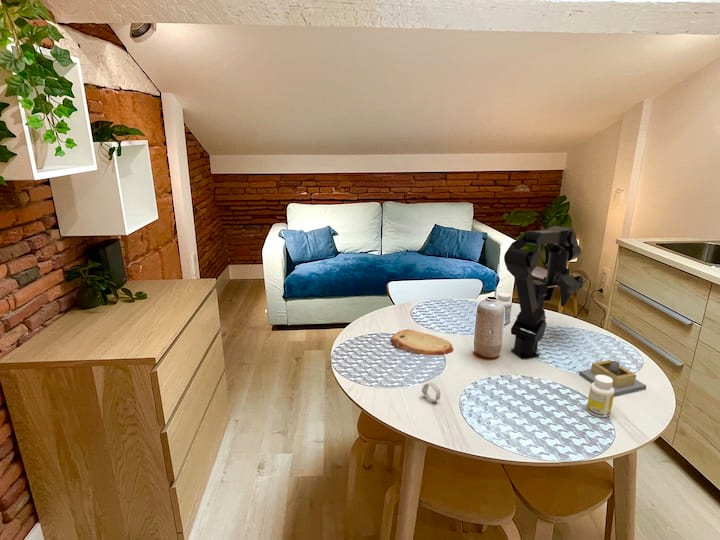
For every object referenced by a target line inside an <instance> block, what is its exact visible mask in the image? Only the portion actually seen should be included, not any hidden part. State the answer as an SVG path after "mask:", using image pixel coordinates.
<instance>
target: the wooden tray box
mask: <svg viewBox="0 0 720 540" xmlns="http://www.w3.org/2000/svg"><path fill="white" fill-rule="evenodd" d="M611 361H612V360H611V359H606V360H604V361H603V360H602V361H601V360H600V361H597V362H592V363H591V368H590V369H591V373H593V374H594V375H606V376H609V377H610V378H612V379H613V384H612V386H613V387H615V388H620V387H625V386H629V385H634V384H635V379H636V380H637V374H636V373H634V372H632V371H630V370H628V369H626V368H625V367H623V366H621V365H620V364H619V369H618V374H617V375H615V374H614V373H612V372H610V371H609V368H610V363H611Z"/></svg>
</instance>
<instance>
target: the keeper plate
mask: <svg viewBox="0 0 720 540" xmlns="http://www.w3.org/2000/svg"><path fill="white" fill-rule="evenodd" d="M619 365H620V363H619V362H618V361H615V360H611V363H610V368H609V371H610V372H612V373H614V374H615V375H617V374H618V369H619ZM578 375H579V376H580V377H582V378H583V379H584V380H586V381H587V382H589V383H590V384H592V383H593V382H594V381H595V376H596V375H594V374H593V373H591V368H588V369H584V370H579V372H578ZM612 387H613V386H612ZM613 389H614V397H617V396H622V395H627V394H631V393H635V391H636V392H639V390H640V391H643V390H644V389H645V390H646V389H647V385H646V384H645V383H643V382H641V381H639V379H637V378H636V379H635V384H634V385H629V386H625V387H620V388H615V387H613ZM645 390H644V391H645Z"/></svg>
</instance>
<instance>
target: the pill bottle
mask: <svg viewBox="0 0 720 540" xmlns="http://www.w3.org/2000/svg"><path fill="white" fill-rule="evenodd" d="M511 295H512V294H510V293H509V292H499V293H497V298H496V299H495V301H496V300H499V301H502V302H503V304H504V307H505V325H508V324H509V323H511V322H510V321H511V314H512V307H513V306H512V305H513V302H512V300H511V298H512V297H511Z"/></svg>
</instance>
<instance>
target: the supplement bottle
mask: <svg viewBox="0 0 720 540" xmlns="http://www.w3.org/2000/svg"><path fill="white" fill-rule="evenodd" d="M612 384H613V379H612V378H610V377H609V376H606V375H596V376H595V381H594V382H593V383H590V386H589V393H588V400H587V405H586V410H587V411H588V412H589V413H590V415H592V416H595V417H598V418H608V417H610V416H611V412H612V406H613V402H614V401H613V400H614V397H615V396H614V389H613V387H612Z"/></svg>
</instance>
